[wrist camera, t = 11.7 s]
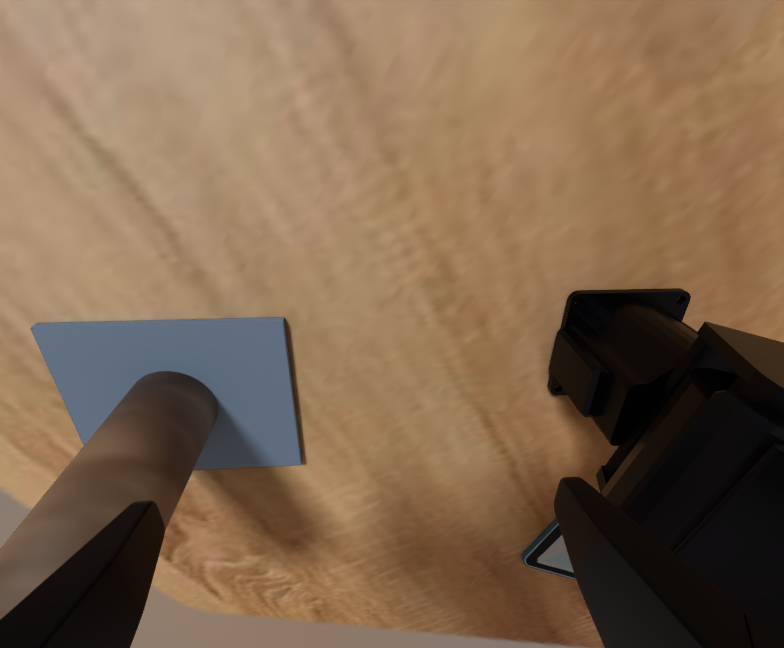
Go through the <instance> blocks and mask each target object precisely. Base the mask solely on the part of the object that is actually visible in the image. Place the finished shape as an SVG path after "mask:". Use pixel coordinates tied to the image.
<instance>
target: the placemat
mask: <svg viewBox="0 0 784 648" xmlns="http://www.w3.org/2000/svg"><path fill="white" fill-rule="evenodd" d="M30 329H31V331H32V333H33V335H34V338H35V340H36V342H37V344H38V346H39V348H40V351H41V353H42V355H43V357H44V359H45V362H46V364H47V366H48V368H49V370H50V373H51V375H52V377H53V379H54V381H55V384H56V386H57V388H58V390H59V392H60V394H61V397H62V399H63V401H64V403H65V405H66V408H67V410H68V412H69V414H70V416H71V419H72V421H73V423H74V425H75V427H76V429H77V432H78V434H79V436H80V438H81V440H82V443H83V445H85V444H86V443H87V442H88V441H89V439H90V438H91V437H92V436H93V434H94V433H95V432H96V431H97V429H98V428H99V427H100V426H101V425H102V423H103V422H104V421H105V420H106V418H107V417H108V416H109V415H110V414H111V412H112V411H113V410H114V409H115V407H116V406H117V405H118V404H119V403H120V401H121V400H122V399H123V398H124V396H125V395H126V394H127V393H128V391H129V390H130V389H131V388H132V387H133V385H134V384H135V383H136V382H137V381H138V380H139V379H140V378H142V377H144V376H145V375H148V374H150V373H154V372H159V371H173V372H179V373H183V374H186V375H189V376H191V377H193V378H195V379H197V380H199V381H200V382H202V383H203V384H204V385H205V386H206V387H207V388H208V389H209V390H210V391H211V392H212V394H213V395H214V397H215V399H216V401H217V405H218V416H217V419H216V422H215V424H214V426H213V428H212V430H211V432H210V435H209V437H208V439H207V441H206V443H205V445H204V448H203V450H202V452H201V454H200V456H199V458H198V460H197V463H196V465H195V467H194V469H193V470H209V469H230V468H251V467H272V466H293V465H301V462H302V455H301V447H300V439H299V431H298V423H297V415H296V408H295V400H294V392H293V384H292V376H291V368H290V360H289V352H288V344H287V336H286V328H285V320H284V317H272V318H230V319H188V320H146V321H104V322H62V323H37V324H35V325H34V326H32V327H31V328H30Z"/></svg>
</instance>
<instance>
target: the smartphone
mask: <svg viewBox="0 0 784 648" xmlns="http://www.w3.org/2000/svg"><path fill="white" fill-rule="evenodd" d="M522 559H523V562H524V564H525V565H526V566H528V567H531V568H535V569H538V570H542V571H546V572H549V573H553V574H556V575H560V576H563V577H567V578H571V579H574V580H576V577H575V574H574V571H573V568H572V565H571V562H570V559H569V555H568V552H567V549H566V546H565V543H564V539H563V536H562V533H561V530H560V527H559V523H558V520H557V519H556V520H555V521H554V522H553V523H552V524H551V525H550V526H549V527H548V528H547V530H546V531H545V532H544V533H543V534H541V535H540V536H539V537H538V538H537V539H536V540H535V541H534V543H532V545H530V546H529V548H527V550H525V551H524V553H523V554H522Z"/></svg>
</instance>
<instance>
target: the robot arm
mask: <svg viewBox="0 0 784 648" xmlns="http://www.w3.org/2000/svg"><path fill="white" fill-rule="evenodd" d="M680 296H681V297H680ZM679 297H680V299H679V300H677V298H679ZM579 298H581V301H580V302H579V303H576V304H575V302H576V300H577V299H579ZM676 300H677V301H676ZM689 301H690V294H689V293H688V292H686V291H685V290H683V289H679V288H678V289H629V290H580V291H574V292H573V293H571V294H570V295H569V297H568V299H567V303H566V307H565V311H564V316H563V320H562V324H561V328H560V329H559V331H558V332H557V335H556V340H555V344H554V349H553V353H552V357H551V362H550V366H549V369H550V371H551V372H550V376H549V381H548V389H549V390H550V392H551V393H552V394H553V395H568V396H569V398H570V399H571V400H572V402H573V403H574V405H575V406H576V408H577V409H578V410H579V412H580V413H581V414H582V415H583V416H584V417H591V418H592V419H593V421H594V422H595V423H596V425H597V426H598V428H599V429H600V430H601V432H602V433H603V434H604V436H605V437H606V438H607V440H608V441H609V443H610V444H611V445H613V446H619V447H618V448H617V450H616V451H615V453H614V454H613V455H612V457H611V458H610V459H609V461H608V462H607V464H606V465H605V466H602V467H601V468H600V469H599V471H598V472H597V474H596V477H597V481H598V485H599V489H600V493H601V494H600V493H599V492H598V491H597V490H595V489H594V488H593V487H592V486H591V485H589V484H588V483H587V482H586V481H584V480H583V479H582V478H580V477H564V478H562V479H561V480H560V482H559V486H558V489H557V493H556V496H555V500H554V510H555V514H556V517H557V520H558V523H559V527H560V530H561V533H562V536H563V539H564V543H565V546H566V549H567V552H568V555H569V559H570V562H571V565H572V568H573V571H574V574H575V577H576V580H577V583H578V585H579V588H580V590H581V593H582V595H583V597H584V600H585V602H586V604H587V607H588V609H589V612H590V614H591V616H592V619H593V621H594V623H595V626H596V628H597V630H598V633H599V635H600V637H601V640H602V642H603V645H604V647H605V648H784V343H783V342H779V341H776V340H772V339H768V338H764V337H761V336H757V335H753V334H750V333H746V332H742V331H739V330H735V329H731V328H727V327H724V326H720V325H716V324H713V323H709V322H704V324H703V325H702V327H701V328H700V329H699V331H698V332H697V331H696V330H694V329H693V328H691V327H690V326H688V325H687V324H685V323H684V322H682V320H683V317H684V314H685V312H686V309H687V307H688V304H689ZM557 385H559V386H558V387H556V386H557ZM555 387H556V388H555ZM164 534H165V525H164V521H163V519H162V516H161V514H160V511H159V508H158V506H157V503H156V502H155V501H153V500H146V501H135V502H133V503H131V504H130V505H129V506H128V507H126V508H125V509H124V510H123V511H122V512H121V513H120V514H119V515H117V516H116V517H115V518H114V519H113V520H112V521H111V522H110V523H108V524H107V525H106V526H105V527H104V528H103V529H102V530H101V531H99V532H98V533H97V534H96V535H95V536H94V537H93V538H92V539H90V540H89V541H88V542H87V543H86V544H85V545H84V546H83V547H81V548H80V549H79V550H78V551H77V552H76V553H75V554H74V555H72V556H71V557H70V558H69V559H68V560H67V561H66V562H64V563H63V564H62V565H61V566H60V567H59V568H58V569H57V570H55V571H54V572H53V573H52V574H51V575H50V576H49V577H48V578H46V579H45V580H44V581H43V582H42V583H41V584H40V585H39V586H37V587H36V588H35V589H34V590H33V591H32V592H31V593H30V594H28V595H27V596H26V597H25V598H24V599H23V600H22V601H21V602H19V603H18V604H17V605H16V606H15V607H14V608H13V609H12V610H10V611H9V612H8V613H7V614H6V615H5V616H4V617H3V618H1V619H0V648H130V646H131V643H132V641H133V638H134V636H135V633H136V630H137V628H138V625H139V622H140V619H141V617H142V614H143V611H144V607H145V604H146V601H147V597H148V593H149V590H150V586H151V583H152V579H153V575H154V572H155V568H156V564H157V561H158V557H159V553H160V550H161V546H162V542H163V539H164Z"/></svg>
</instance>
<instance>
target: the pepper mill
mask: <svg viewBox="0 0 784 648" xmlns="http://www.w3.org/2000/svg"><path fill="white" fill-rule="evenodd" d="M217 416H218V405H217V401H216V399H215V397H214V395H213V394H212V392H211V391H210V390H209V389H208V388H207V387H206V386H205V385H204V384H203V383H202V382H200V381H199V380H197V379H195V378H193V377H191V376H189V375H186V374H183V373H179V372H173V371H159V372H154V373H150V374H148V375H145V376H144V377H142V378H140V379H139V380H138V381H137V382H136V383H135V384H134V385H133V387H132V388H131V389H130V390H129V391H128V393H127V394H126V395H125V396H124V398H123V399H122V400H121V401H120V403H119V404H118V405H117V406H116V407H115V409H114V410H113V411H112V412H111V414H110V415H109V416H108V417H107V418H106V420H105V421H104V422H103V423H102V425H101V426H100V427H99V428H98V429H97V431H96V432H95V433H94V434H93V436H92V437H91V438H90V439H89V441H88V442H87V443H86V444H85V445H84V447H83V448H82V449H81V450H80V452H79V453H78V454H77V455H76V456H75V458H74V459H73V460H72V461H71V463H70V464H69V465H68V466H67V468H66V469H65V470H64V471H63V472H62V474H61V475H60V476H59V477H58V479H57V480H56V481H55V482H54V483H53V485H52V486H51V487H50V488H49V490H48V491H47V492H46V493H45V494H44V496H43V497H42V498H41V499H40V501H39V502H38V503H37V504H36V506H35V507H34V508H33V509H32V510H31V512H30V513H29V514H28V515H27V517H26V518H25V519H24V520H23V522H22V523H21V524H20V525H19V526H18V528H17V529H16V530H15V531H14V533H13V534H12V535H11V536H10V537H9V539H8V540H7V541H6V542H5V544H4V545H3V546H2V547H1V548H0V619H1V618H3V617H4V616H5V615H6V614H7V613H8V612H9V611H10V610H12V609H13V608H14V607H15V606H16V605H17V604H18V603H19V602H21V601H22V600H23V599H24V598H25V597H26V596H27V595H28V594H30V593H31V592H32V591H33V590H34V589H35V588H36V587H37V586H39V585H40V584H41V583H42V582H43V581H44V580H45V579H46V578H48V577H49V576H50V575H51V574H52V573H53V572H54V571H55V570H57V569H58V568H59V567H60V566H61V565H62V564H63V563H64V562H66V561H67V560H68V559H69V558H70V557H71V556H72V555H74V554H75V553H76V552H77V551H78V550H79V549H80V548H81V547H83V546H84V545H85V544H86V543H87V542H88V541H89V540H90V539H92V538H93V537H94V536H95V535H96V534H97V533H98V532H99V531H101V530H102V529H103V528H104V527H105V526H106V525H107V524H108V523H110V522H111V521H112V520H113V519H114V518H115V517H116V516H117V515H119V514H120V513H121V512H122V511H123V510H124V509H125V508H126V507H128V506H129V505H130V504H131V503H133V502H135V501H146V500H153V501H155V502H156V503H157V506H158V508H159V511H160V514H161V516H162V519H163V521H164V525H165V530H166V528H167V525H168V523H169V521H170V519H171V517H172V515H173V512H174V510H175V508H176V506H177V504H178V502H179V499H180V497H181V495H182V493H183V491H184V489H185V486H186V484H187V482H188V480H189V478H190V476H191V473H192V471H193V469H194V467H195V465H196V463H197V460H198V458H199V456H200V454H201V452H202V450H203V448H204V445H205V443H206V441H207V439H208V437H209V435H210V432H211V430H212V428H213V426H214V424H215V422H216V419H217Z"/></svg>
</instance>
